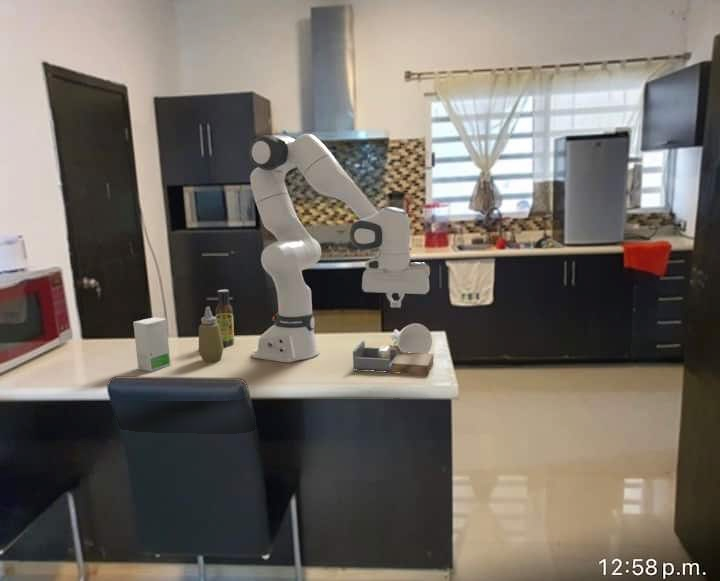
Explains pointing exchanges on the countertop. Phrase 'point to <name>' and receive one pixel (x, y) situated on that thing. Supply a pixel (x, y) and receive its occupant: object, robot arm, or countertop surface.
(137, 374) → the countertop surface
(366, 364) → the box
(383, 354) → the tile
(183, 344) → the countertop surface
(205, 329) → the squeeze bottle
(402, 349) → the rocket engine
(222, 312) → the sauce bottle
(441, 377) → the countertop surface
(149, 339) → the skincare box
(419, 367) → the bench plate
